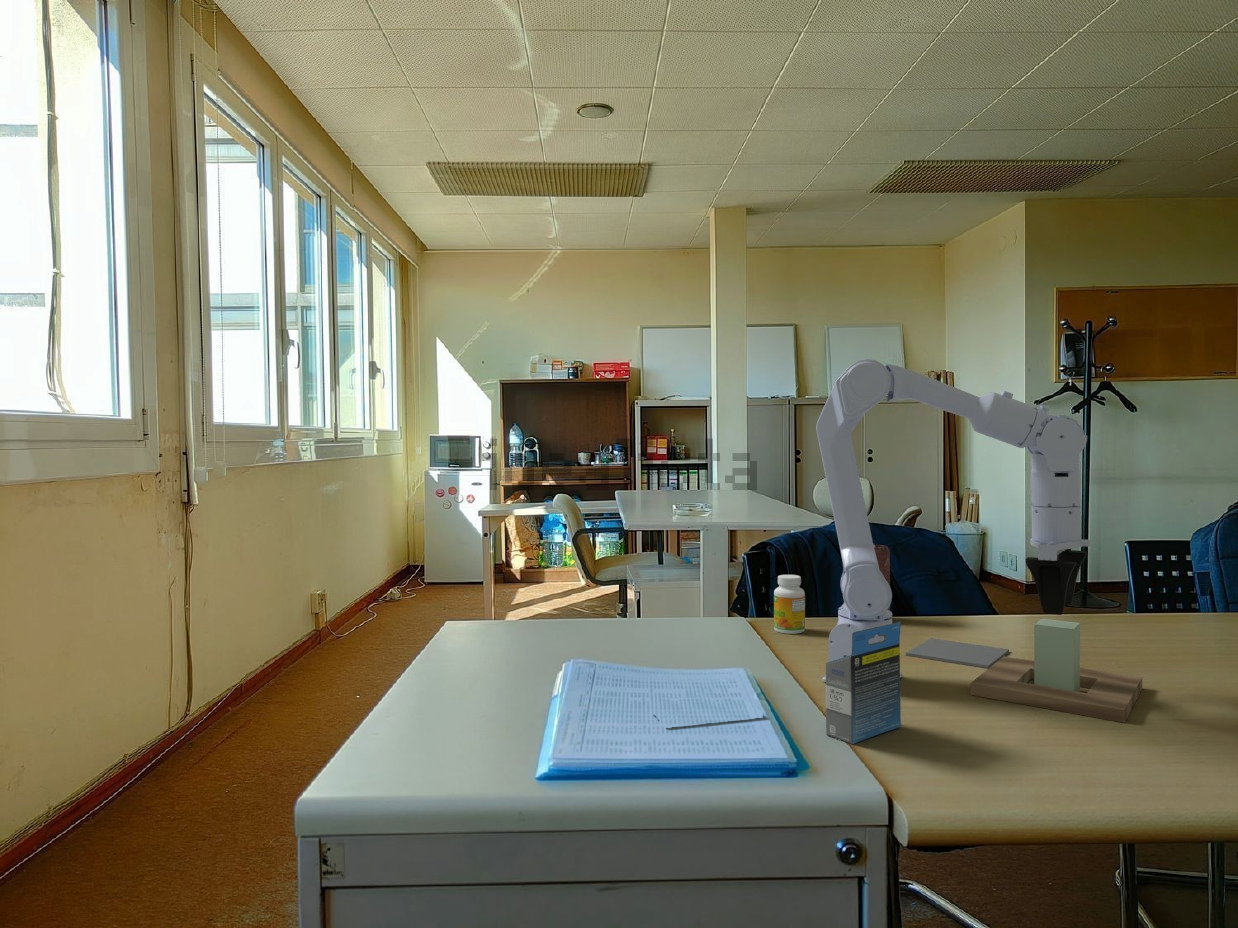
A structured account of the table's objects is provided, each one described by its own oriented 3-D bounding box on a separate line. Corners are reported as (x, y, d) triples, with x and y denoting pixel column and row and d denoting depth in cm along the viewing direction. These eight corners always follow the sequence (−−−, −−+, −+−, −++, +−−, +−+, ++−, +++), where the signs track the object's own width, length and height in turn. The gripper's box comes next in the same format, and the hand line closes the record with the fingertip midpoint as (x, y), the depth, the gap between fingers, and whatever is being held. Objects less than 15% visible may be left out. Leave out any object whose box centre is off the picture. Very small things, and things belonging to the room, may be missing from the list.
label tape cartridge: (873, 718, 93) (873, 615, 93) (902, 728, 90) (902, 621, 89) (824, 735, 88) (824, 625, 87) (853, 745, 84) (852, 632, 84)
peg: (1073, 699, 100) (1073, 629, 99) (1034, 692, 102) (1034, 624, 102) (1079, 690, 103) (1080, 622, 103) (1041, 684, 106) (1041, 618, 106)
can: (885, 616, 150) (885, 543, 150) (893, 623, 144) (893, 547, 144) (852, 615, 151) (852, 543, 150) (859, 622, 144) (859, 547, 144)
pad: (988, 668, 114) (988, 665, 114) (905, 655, 121) (905, 652, 121) (1009, 651, 123) (1009, 649, 123) (931, 640, 131) (931, 638, 131)
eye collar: (1124, 722, 91) (1124, 709, 91) (970, 694, 102) (970, 683, 102) (1142, 688, 104) (1142, 676, 104) (1003, 666, 115) (1003, 656, 115)
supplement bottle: (767, 629, 140) (767, 575, 140) (792, 626, 142) (792, 573, 142) (786, 635, 135) (786, 579, 135) (811, 632, 137) (811, 577, 137)
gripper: (1083, 510, 95) (1085, 621, 95) (1097, 503, 106) (1099, 602, 106) (1019, 509, 99) (1021, 615, 99) (1039, 502, 111) (1041, 597, 111)
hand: (1057, 608), depth 103 cm, fingers open, 7 cm apart
